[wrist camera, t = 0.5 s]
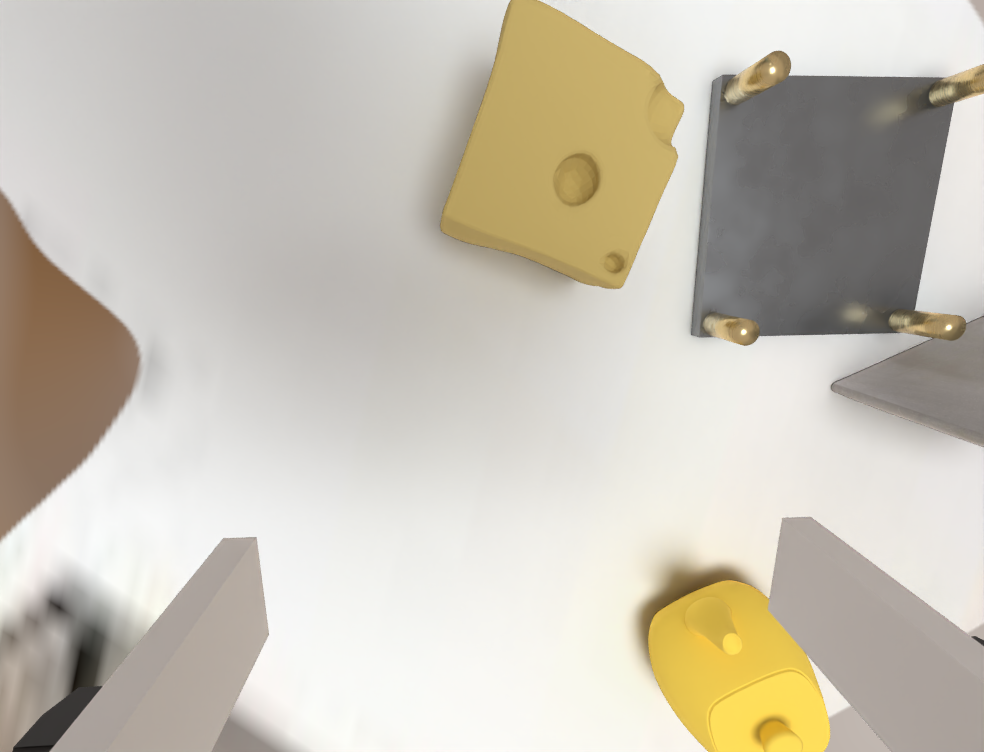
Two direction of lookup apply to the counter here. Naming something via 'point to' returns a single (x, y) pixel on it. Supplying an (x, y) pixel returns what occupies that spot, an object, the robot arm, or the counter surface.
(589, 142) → the cheese
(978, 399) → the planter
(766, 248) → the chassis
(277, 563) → the counter surface
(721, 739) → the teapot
